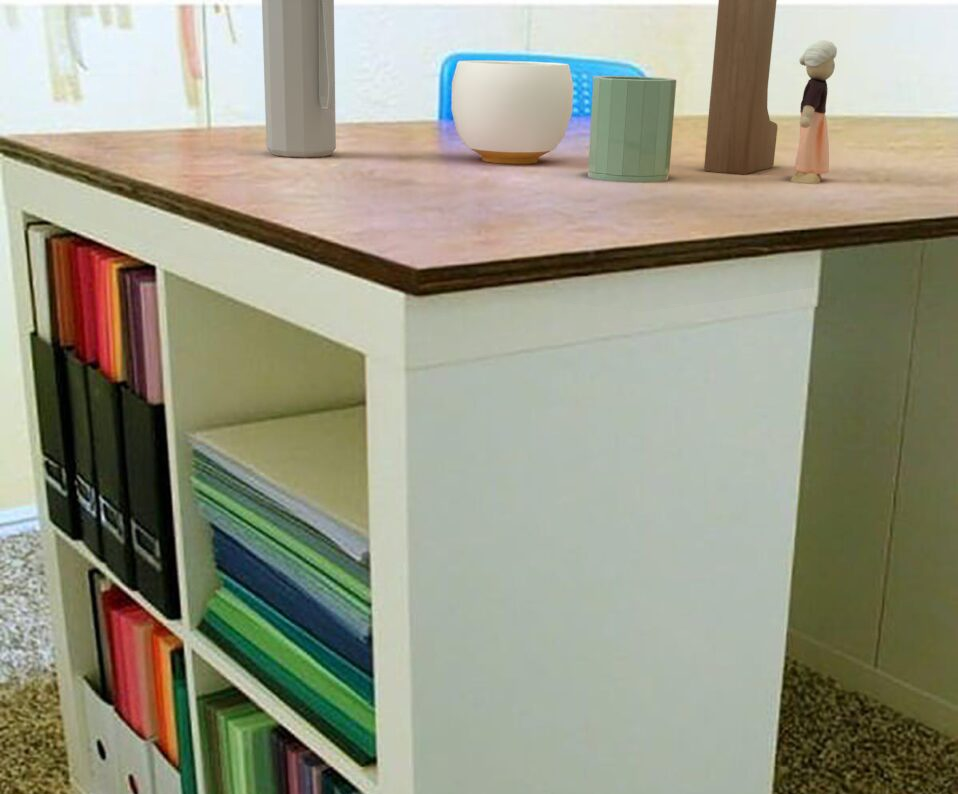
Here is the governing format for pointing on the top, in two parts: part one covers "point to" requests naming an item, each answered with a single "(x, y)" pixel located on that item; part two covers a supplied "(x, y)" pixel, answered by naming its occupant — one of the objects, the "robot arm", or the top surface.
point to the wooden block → (741, 89)
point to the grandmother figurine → (814, 114)
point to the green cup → (631, 128)
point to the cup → (511, 108)
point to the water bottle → (299, 77)
